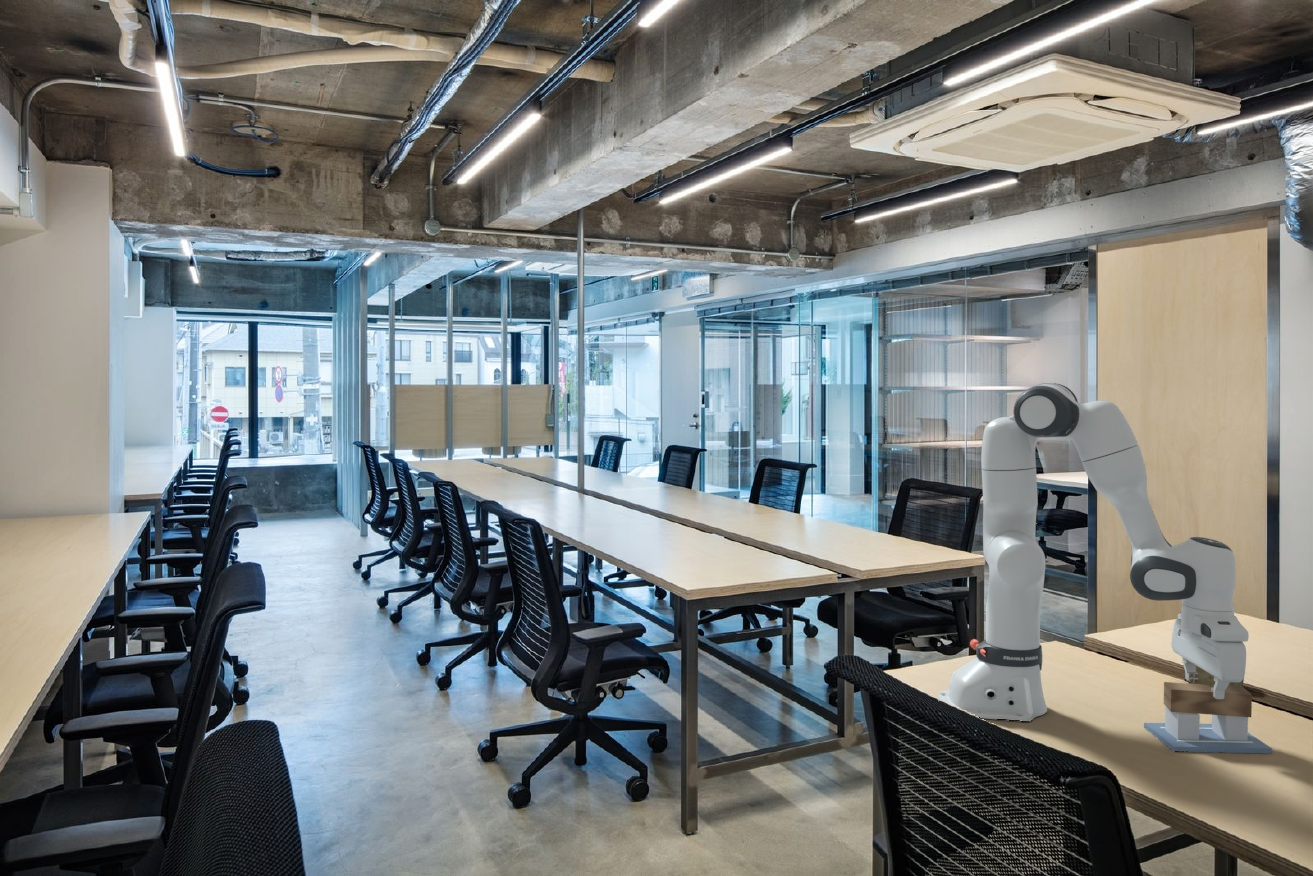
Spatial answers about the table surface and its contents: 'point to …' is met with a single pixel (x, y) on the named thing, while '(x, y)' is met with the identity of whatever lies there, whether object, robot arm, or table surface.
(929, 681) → the table surface
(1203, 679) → the stone block
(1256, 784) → the table surface
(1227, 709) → the walnut beam
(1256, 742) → the bridge base
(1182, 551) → the robot arm
